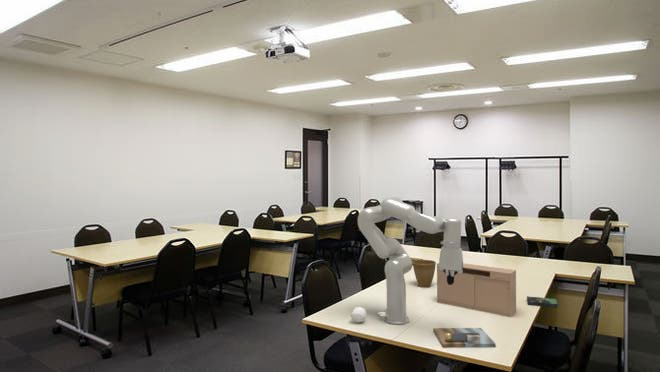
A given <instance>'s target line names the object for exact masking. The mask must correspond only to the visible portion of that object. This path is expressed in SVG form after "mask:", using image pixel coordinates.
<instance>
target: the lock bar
mask: <svg viewBox="0 0 660 372" xmlns="http://www.w3.org/2000/svg"><path fill="white" fill-rule="evenodd" d="M467 335H479V336H480V334H479V333H450V332H445V341H446V342H467Z"/></svg>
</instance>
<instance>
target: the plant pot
mask: <svg viewBox="0 0 660 372" xmlns="http://www.w3.org/2000/svg"><path fill="white" fill-rule="evenodd" d="M436 267H437V263H436V261H435V260H432V259H417V260H416V259H415V260H413V261H412V268H413V272H414V275H415V279H416V282H417V284H418V287H420V288H424V289H425V288H427V289H428V288H430V287H431V286H432V282H433V279H434V275H435V271H436Z"/></svg>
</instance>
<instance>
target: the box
mask: <svg viewBox="0 0 660 372" xmlns="http://www.w3.org/2000/svg"><path fill="white" fill-rule="evenodd" d="M462 270H463V273H459V274H456V275H455V276H454V283H453V284H452V285H450V284H449V285H448V282H447V276H446V274H445V273H444V271H441V270H439V262H438V263H436V286H437V287H436V295H437V296H436V300H437V302H436V303H438V304H443V305H448V306H453V307H458V308H462V309H463V308H464V309H467V310H472V311H473V310H474V311H477V312H478V311H479V312H483V313H489V314H493V315H499V316H502V317H508V318H512V317H513V316H514V315H515V314H516V313H517V270H516V269H509V268H501V267H495V266H486V265H479V264H471V263H465V262H463V268H462ZM451 273H452V270H450V274H451Z"/></svg>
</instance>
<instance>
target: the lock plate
mask: <svg viewBox="0 0 660 372" xmlns="http://www.w3.org/2000/svg"><path fill="white" fill-rule="evenodd" d="M432 329H433V334H434V335H435V337H436V339H438V342H439V344H440V345H441V346H442V348H496V342H495V341H494V340H493V339H492V338H491V337H490V336H489V335H488V333H486V332H485V331H484V329H482V327H434V328H432ZM445 332H450V333H479V334H480V336H479V335H467V342H446V341H445Z"/></svg>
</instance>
